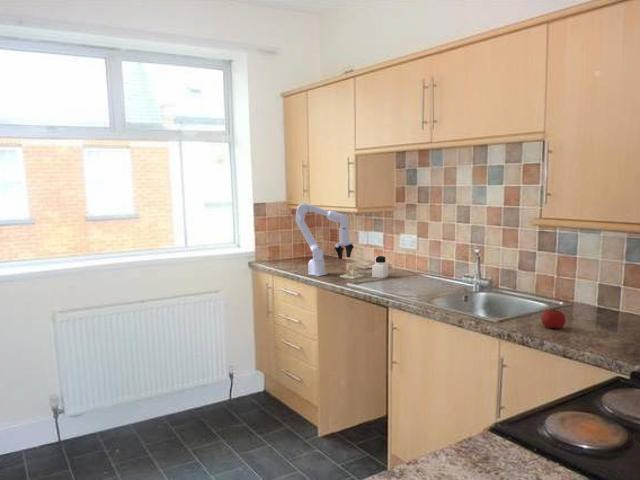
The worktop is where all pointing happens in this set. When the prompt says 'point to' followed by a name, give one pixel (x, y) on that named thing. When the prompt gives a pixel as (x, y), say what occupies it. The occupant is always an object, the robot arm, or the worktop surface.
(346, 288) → the worktop surface
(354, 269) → the beech block
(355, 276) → the tile
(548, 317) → the tomato
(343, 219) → the robot arm
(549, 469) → the worktop surface
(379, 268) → the medicine bottle
